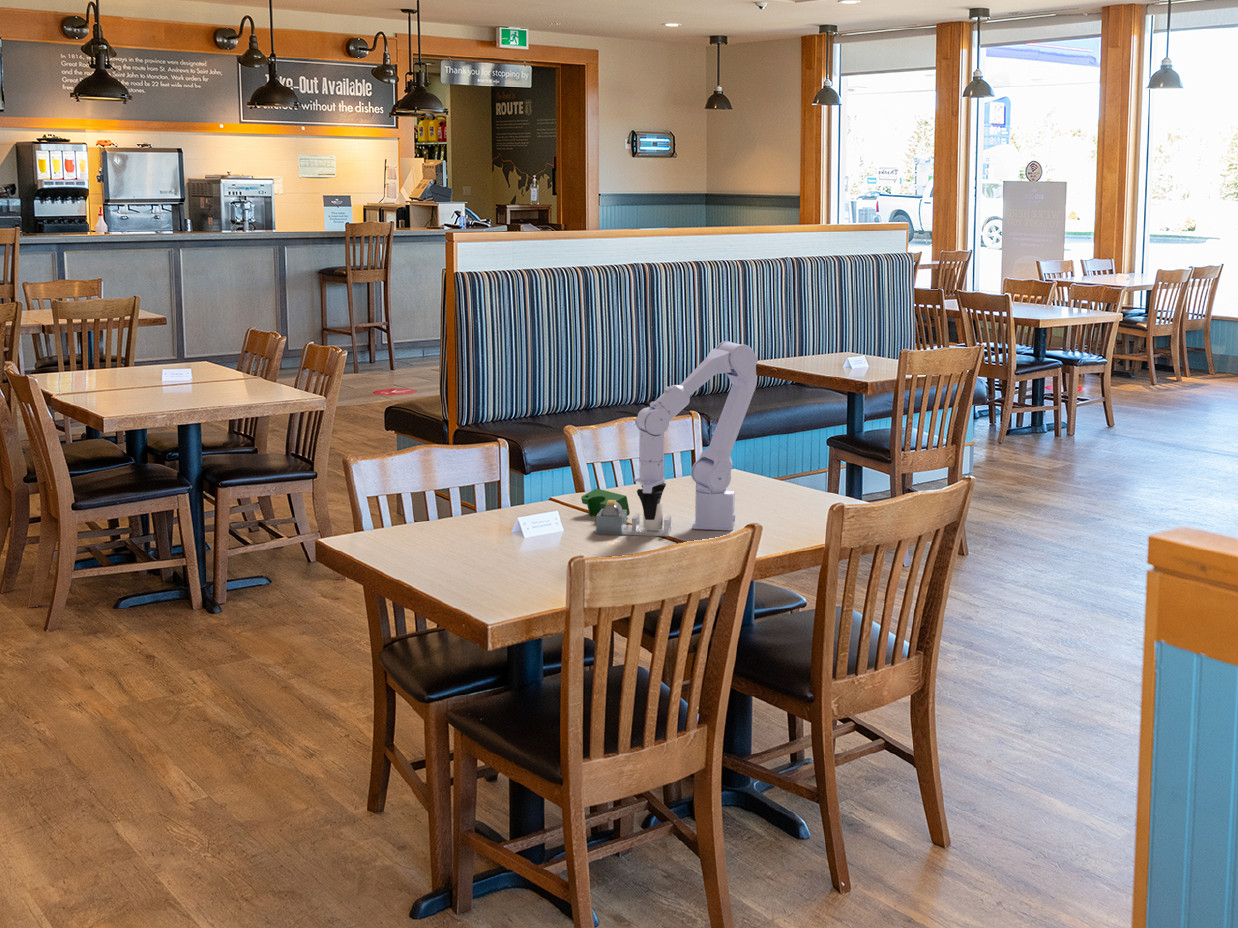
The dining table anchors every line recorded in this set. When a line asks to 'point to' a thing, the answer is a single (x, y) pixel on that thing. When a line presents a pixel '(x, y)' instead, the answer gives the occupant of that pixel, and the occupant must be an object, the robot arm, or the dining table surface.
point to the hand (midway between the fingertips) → (651, 516)
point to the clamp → (603, 500)
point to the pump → (658, 520)
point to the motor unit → (625, 522)
